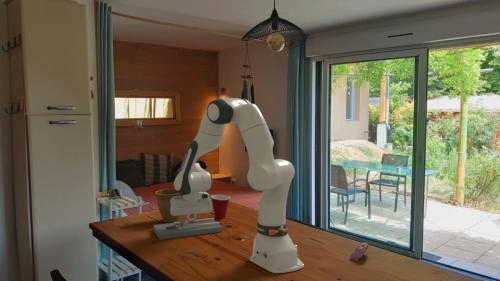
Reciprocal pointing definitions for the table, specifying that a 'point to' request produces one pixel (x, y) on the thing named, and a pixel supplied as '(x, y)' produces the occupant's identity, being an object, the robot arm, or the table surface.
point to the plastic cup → (220, 205)
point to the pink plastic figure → (359, 251)
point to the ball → (183, 222)
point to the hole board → (187, 229)
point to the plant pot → (166, 204)
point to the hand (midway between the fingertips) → (191, 222)
